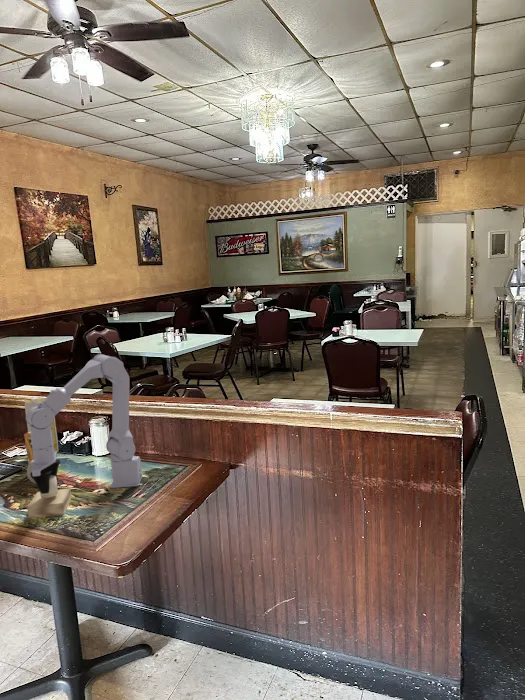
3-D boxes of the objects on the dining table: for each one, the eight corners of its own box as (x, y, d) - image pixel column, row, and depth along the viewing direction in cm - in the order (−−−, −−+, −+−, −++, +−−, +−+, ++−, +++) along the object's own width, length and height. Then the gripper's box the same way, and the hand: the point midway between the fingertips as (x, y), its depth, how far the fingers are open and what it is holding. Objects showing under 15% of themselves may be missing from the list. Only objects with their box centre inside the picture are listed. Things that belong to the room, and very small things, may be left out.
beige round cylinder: (60, 489, 152) (58, 474, 151) (55, 497, 147) (53, 481, 146) (43, 491, 151) (41, 476, 150) (38, 498, 146) (35, 483, 145)
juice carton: (28, 458, 192) (20, 399, 188) (41, 450, 200) (34, 393, 196) (49, 459, 190) (41, 399, 186) (61, 451, 198) (54, 394, 194)
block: (71, 500, 156) (70, 488, 155) (64, 515, 146) (62, 502, 145) (38, 503, 154) (37, 492, 153) (28, 519, 144) (27, 507, 144)
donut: (29, 489, 164) (25, 461, 162) (27, 486, 167) (24, 458, 165) (61, 481, 169) (57, 453, 168) (58, 477, 172) (55, 450, 171)
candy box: (56, 472, 177) (51, 432, 174) (47, 477, 173) (41, 436, 171) (38, 469, 180) (33, 430, 178) (28, 474, 177) (23, 433, 174)
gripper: (38, 438, 153) (44, 479, 156) (18, 456, 139) (25, 500, 141) (61, 437, 154) (66, 477, 156) (44, 454, 140) (50, 499, 142)
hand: (48, 488), depth 149 cm, fingers closed on beige round cylinder, 5 cm apart
